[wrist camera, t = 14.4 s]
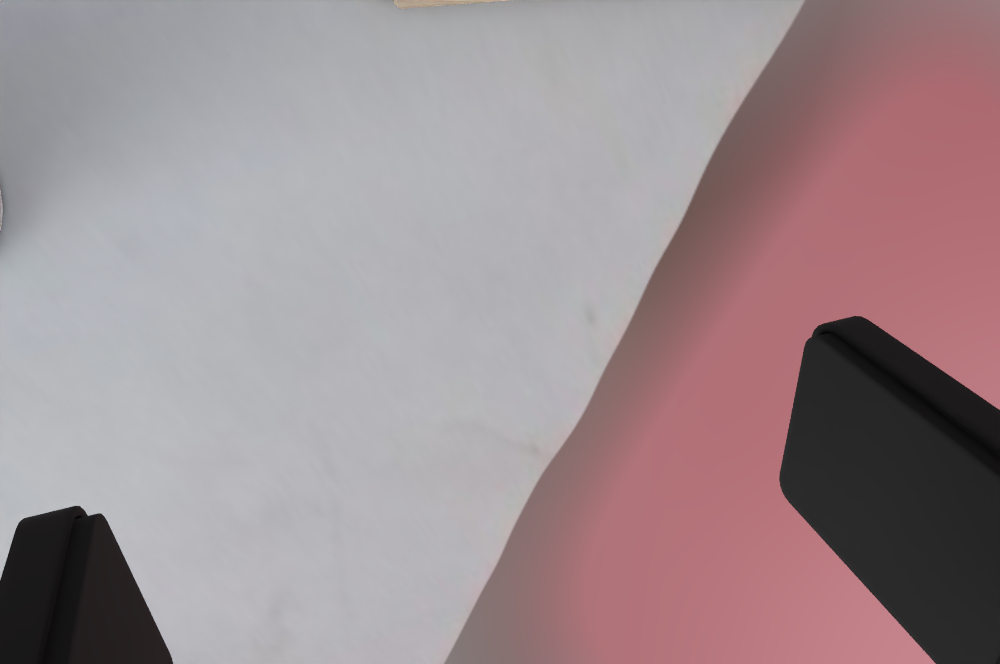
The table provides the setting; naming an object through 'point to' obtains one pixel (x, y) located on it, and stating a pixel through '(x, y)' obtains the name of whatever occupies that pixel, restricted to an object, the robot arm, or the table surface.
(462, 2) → the hammer
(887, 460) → the robot arm
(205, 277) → the table surface
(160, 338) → the table surface
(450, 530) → the table surface
